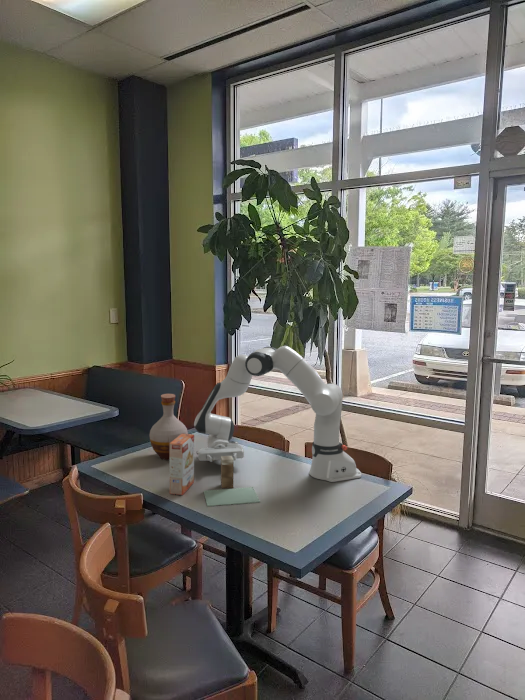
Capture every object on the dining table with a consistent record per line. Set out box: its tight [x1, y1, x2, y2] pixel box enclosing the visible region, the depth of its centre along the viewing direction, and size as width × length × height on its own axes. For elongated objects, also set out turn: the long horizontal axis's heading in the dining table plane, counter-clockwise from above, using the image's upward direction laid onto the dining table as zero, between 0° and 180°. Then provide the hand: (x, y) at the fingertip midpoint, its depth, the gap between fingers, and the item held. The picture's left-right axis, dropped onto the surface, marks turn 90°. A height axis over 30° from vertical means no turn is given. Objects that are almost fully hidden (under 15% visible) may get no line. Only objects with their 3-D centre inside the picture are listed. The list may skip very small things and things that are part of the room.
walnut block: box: [220, 456, 234, 489], centre depth 214 cm, size 4×4×12 cm
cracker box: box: [169, 433, 195, 496], centre depth 210 cm, size 14×6×21 cm, turn 168°
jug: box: [149, 393, 189, 461], centre depth 248 cm, size 20×18×30 cm
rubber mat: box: [203, 486, 261, 507], centre depth 204 cm, size 20×14×1 cm
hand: (223, 459), depth 226 cm, fingers open, 8 cm apart
